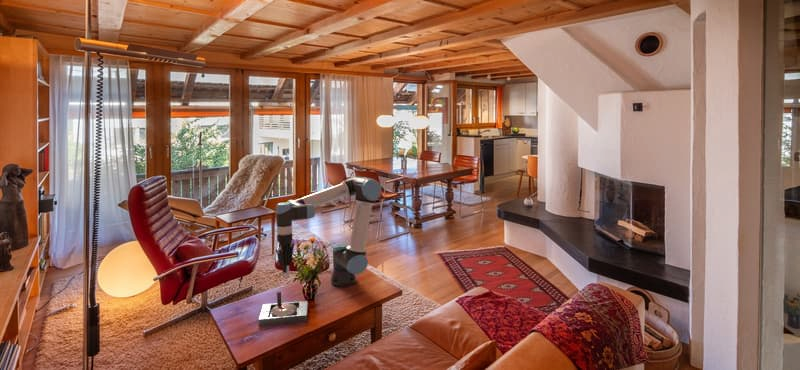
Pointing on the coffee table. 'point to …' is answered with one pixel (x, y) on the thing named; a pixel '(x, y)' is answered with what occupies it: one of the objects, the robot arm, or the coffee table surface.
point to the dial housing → (268, 319)
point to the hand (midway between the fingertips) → (286, 277)
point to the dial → (283, 308)
